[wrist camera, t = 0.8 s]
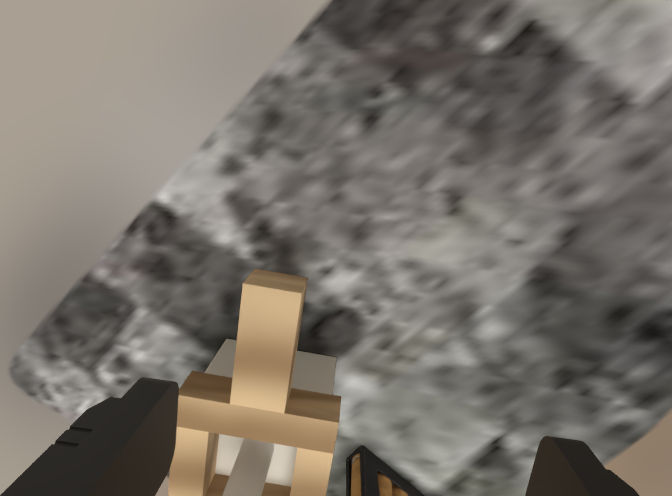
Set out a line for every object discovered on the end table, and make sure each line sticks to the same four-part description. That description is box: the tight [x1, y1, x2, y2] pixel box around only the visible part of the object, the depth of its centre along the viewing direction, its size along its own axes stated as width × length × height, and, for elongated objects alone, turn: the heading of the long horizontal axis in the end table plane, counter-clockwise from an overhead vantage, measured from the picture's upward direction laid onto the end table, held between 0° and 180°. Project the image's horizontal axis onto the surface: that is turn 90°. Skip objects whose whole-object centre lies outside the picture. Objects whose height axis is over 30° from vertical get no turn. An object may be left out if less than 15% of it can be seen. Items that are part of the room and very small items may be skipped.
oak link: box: [168, 269, 341, 496], centre depth 26 cm, size 16×9×2 cm, turn 171°
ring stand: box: [204, 339, 337, 496], centre depth 26 cm, size 8×8×16 cm
